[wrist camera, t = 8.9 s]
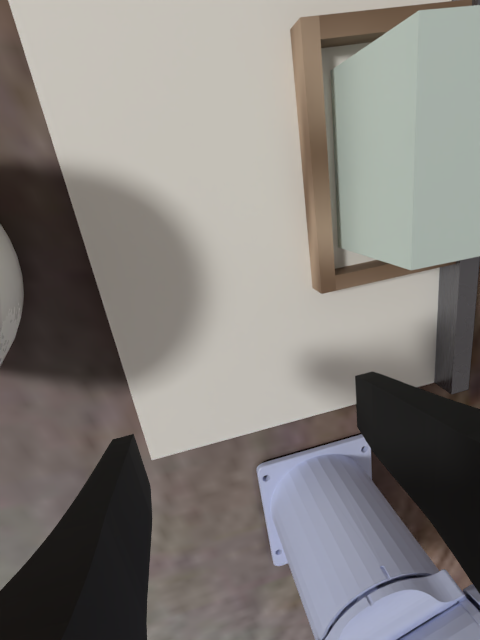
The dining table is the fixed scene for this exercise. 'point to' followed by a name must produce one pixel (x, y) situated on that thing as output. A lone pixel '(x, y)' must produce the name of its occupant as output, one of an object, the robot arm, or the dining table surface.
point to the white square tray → (232, 210)
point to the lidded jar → (9, 294)
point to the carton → (411, 141)
